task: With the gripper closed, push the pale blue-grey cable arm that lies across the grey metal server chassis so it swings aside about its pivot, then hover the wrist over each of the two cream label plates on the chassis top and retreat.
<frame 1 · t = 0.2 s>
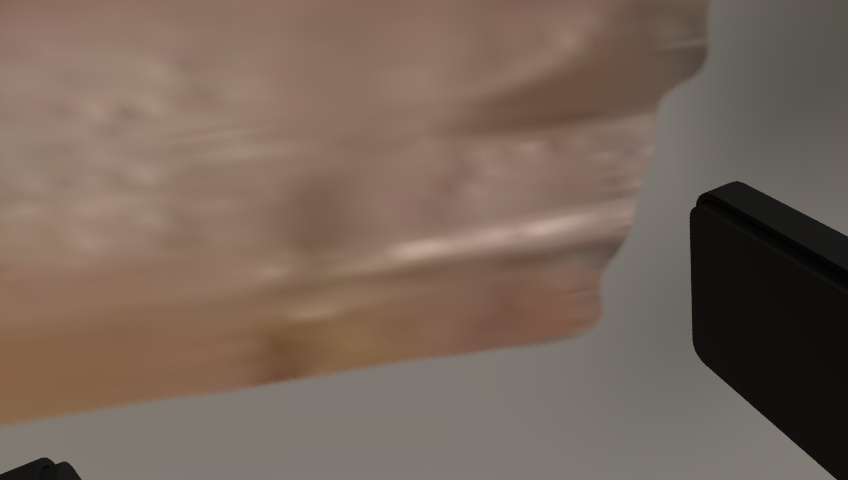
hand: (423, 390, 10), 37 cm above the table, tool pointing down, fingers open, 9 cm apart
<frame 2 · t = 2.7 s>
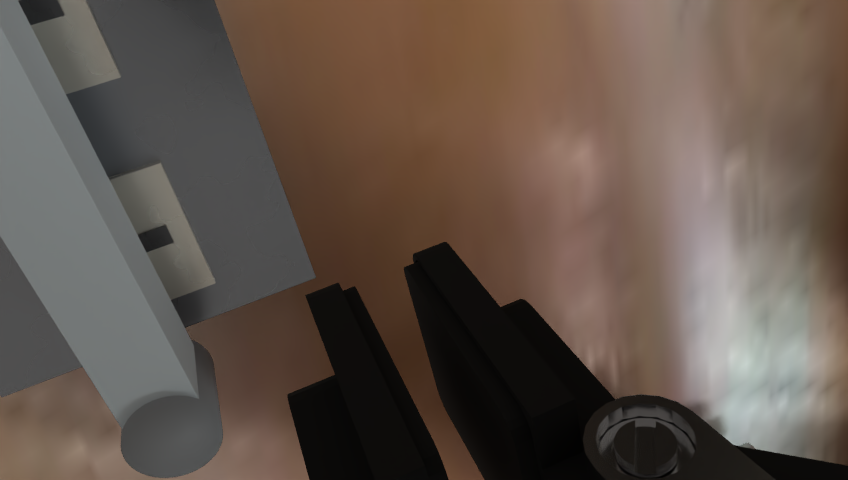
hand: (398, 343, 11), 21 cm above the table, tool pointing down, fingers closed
chassis: (78, 94, 27), on the table
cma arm: (34, 160, 19), point 10 cm above the table, hinge at 0.0°
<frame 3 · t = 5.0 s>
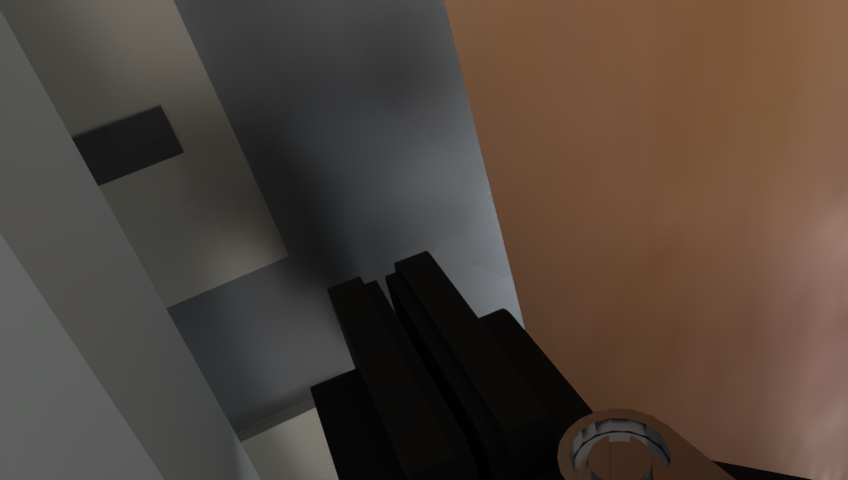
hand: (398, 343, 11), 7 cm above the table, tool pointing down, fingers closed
chassis: (165, 226, 16), on the table
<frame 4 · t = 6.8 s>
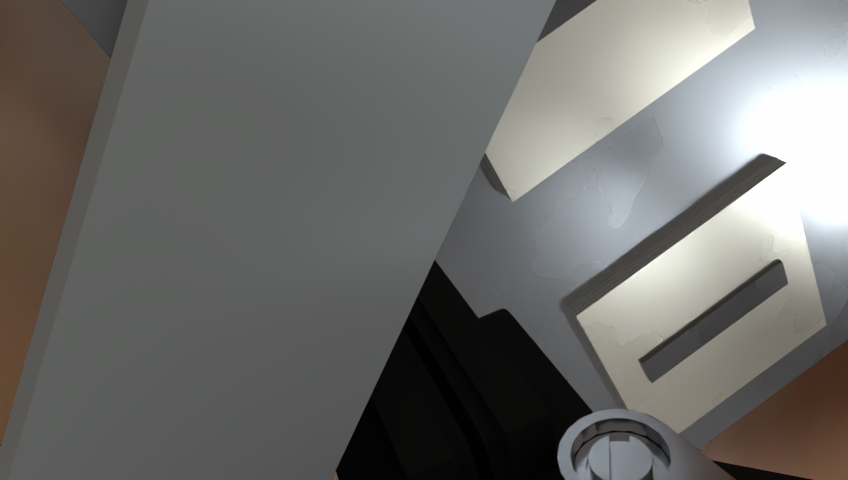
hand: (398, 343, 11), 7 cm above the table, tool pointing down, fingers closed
chassis: (504, 89, 18), on the table
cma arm: (165, 394, 7), point 10 cm above the table, hinge at 55.2°, touching gripper
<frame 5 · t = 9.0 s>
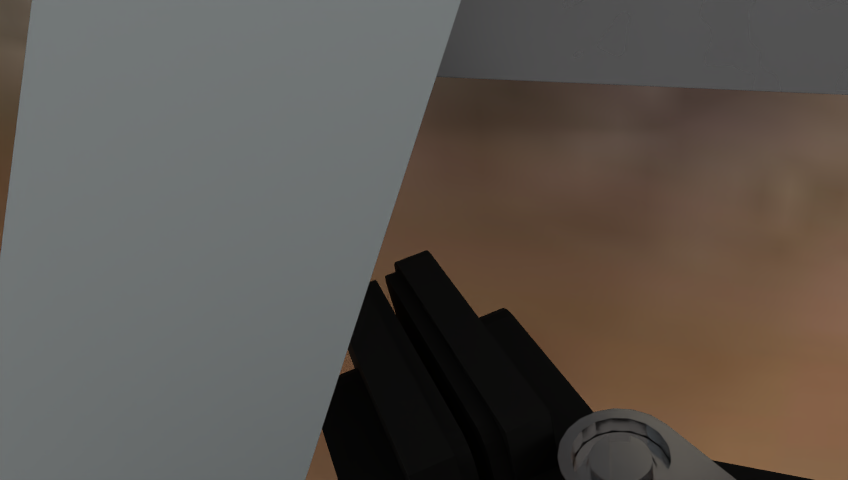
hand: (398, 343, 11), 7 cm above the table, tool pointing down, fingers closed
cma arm: (143, 404, 7), point 10 cm above the table, hinge at 102.0°, touching gripper
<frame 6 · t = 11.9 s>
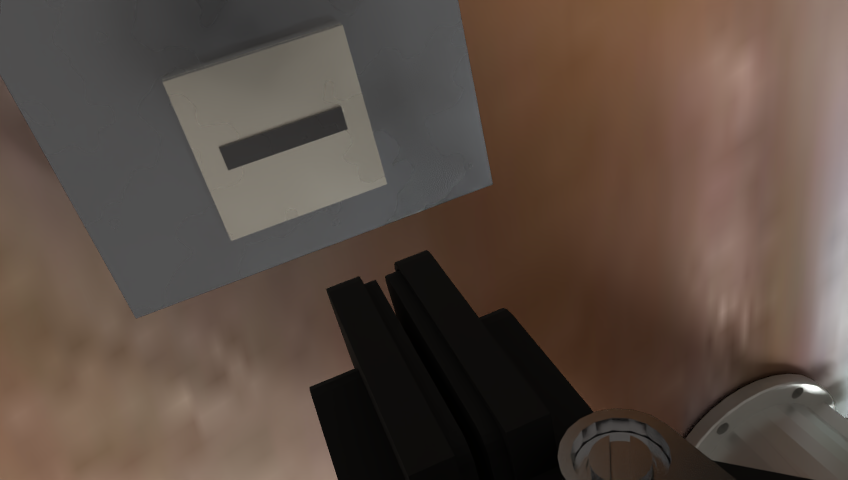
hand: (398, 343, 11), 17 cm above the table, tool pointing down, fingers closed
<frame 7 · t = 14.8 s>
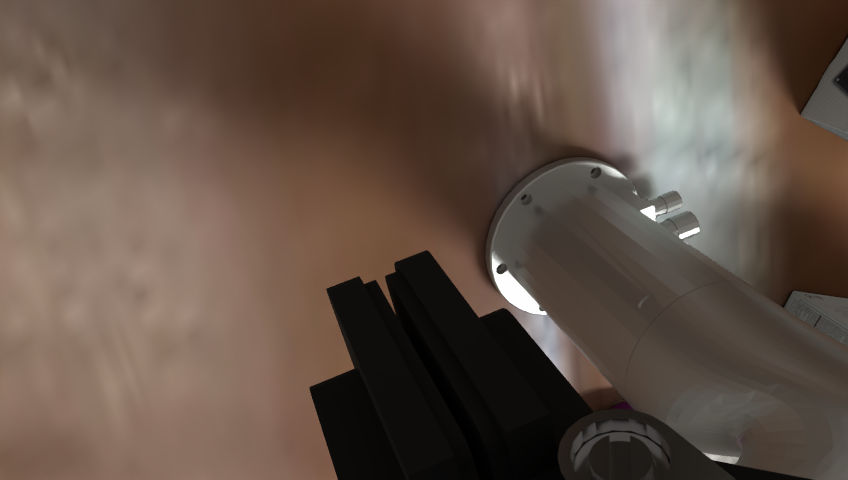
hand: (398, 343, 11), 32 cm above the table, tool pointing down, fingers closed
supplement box: (816, 351, 70), on the table
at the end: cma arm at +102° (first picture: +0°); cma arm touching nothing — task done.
